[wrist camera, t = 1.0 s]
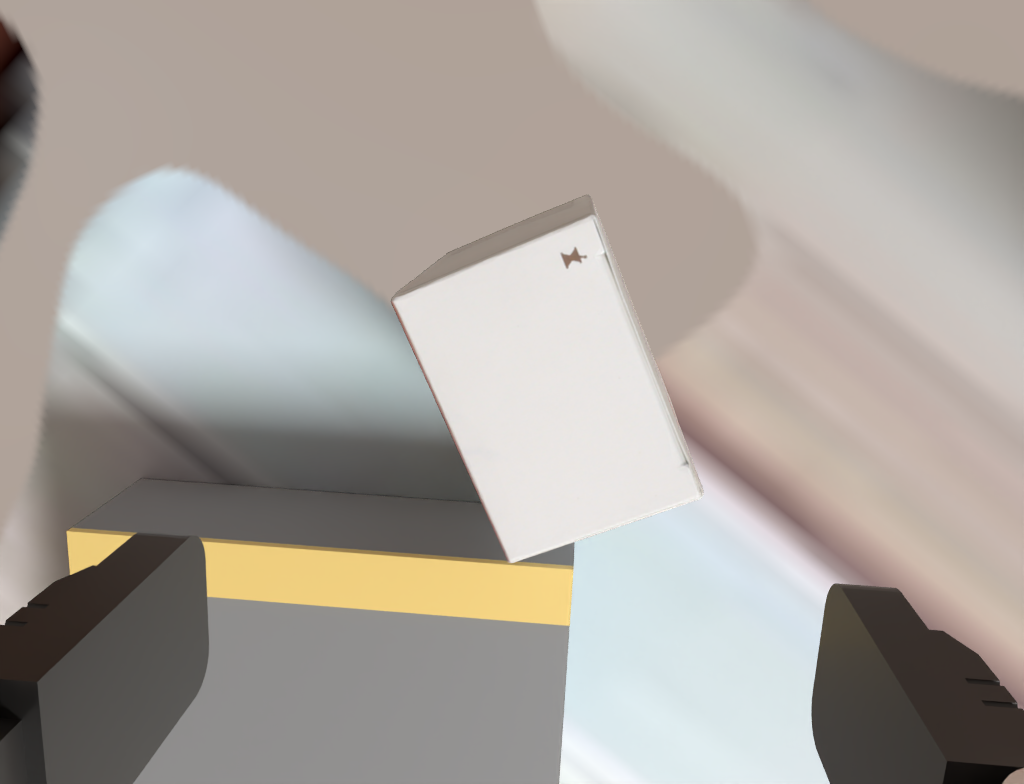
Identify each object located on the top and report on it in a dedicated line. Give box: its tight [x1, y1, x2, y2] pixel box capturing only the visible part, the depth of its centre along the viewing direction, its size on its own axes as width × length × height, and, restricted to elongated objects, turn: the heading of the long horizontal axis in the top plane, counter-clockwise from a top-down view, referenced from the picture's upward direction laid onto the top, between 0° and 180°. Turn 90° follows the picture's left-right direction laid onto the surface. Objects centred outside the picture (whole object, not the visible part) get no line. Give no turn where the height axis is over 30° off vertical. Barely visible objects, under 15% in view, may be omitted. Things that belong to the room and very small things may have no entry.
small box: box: [391, 195, 704, 563], centre depth 28 cm, size 8×6×10 cm
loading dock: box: [67, 478, 574, 784], centre depth 35 cm, size 17×16×5 cm
